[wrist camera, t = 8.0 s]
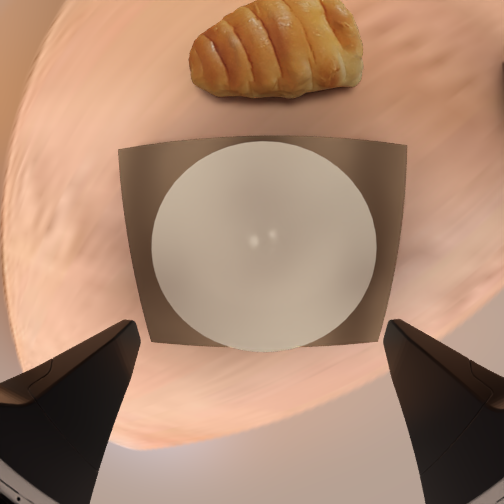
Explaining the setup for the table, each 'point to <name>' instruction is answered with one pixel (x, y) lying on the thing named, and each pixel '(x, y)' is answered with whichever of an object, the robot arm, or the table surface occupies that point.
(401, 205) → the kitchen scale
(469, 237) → the table surface
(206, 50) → the pastry
